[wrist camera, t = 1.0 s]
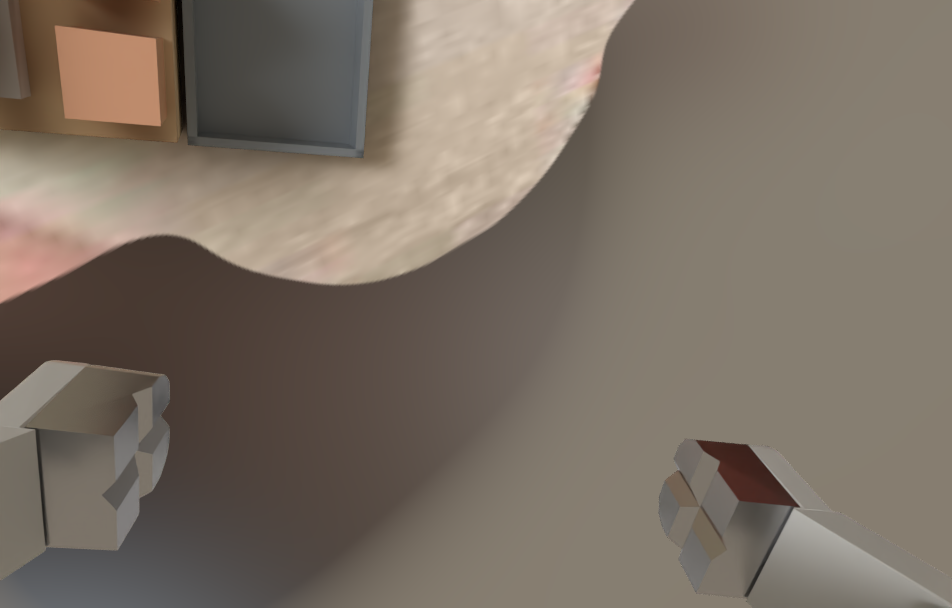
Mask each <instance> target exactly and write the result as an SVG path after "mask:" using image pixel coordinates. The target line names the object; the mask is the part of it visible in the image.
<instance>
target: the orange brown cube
mask: <svg viewBox="0 0 952 608" xmlns="http://www.w3.org/2000/svg"><path fill="white" fill-rule="evenodd" d="M55 34H56V43H57V52H58V61H59V69H60V78H61V87H62V96H63V105H64V114H65V118H67V119H79V120H91V121H103V122H115V123H127V124H139V125H151V126H161V125H162V124H163V122H164V121H165V119H166V118H167V104H166V85H165V67H164V48H163V38H160V37H152V36H145V35H137V34H130V33H123V32H115V31H108V30H100V29H93V28H85V27H78V26H59V25H55Z"/></svg>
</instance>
